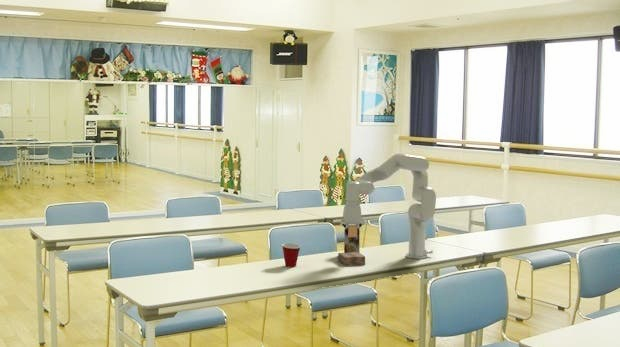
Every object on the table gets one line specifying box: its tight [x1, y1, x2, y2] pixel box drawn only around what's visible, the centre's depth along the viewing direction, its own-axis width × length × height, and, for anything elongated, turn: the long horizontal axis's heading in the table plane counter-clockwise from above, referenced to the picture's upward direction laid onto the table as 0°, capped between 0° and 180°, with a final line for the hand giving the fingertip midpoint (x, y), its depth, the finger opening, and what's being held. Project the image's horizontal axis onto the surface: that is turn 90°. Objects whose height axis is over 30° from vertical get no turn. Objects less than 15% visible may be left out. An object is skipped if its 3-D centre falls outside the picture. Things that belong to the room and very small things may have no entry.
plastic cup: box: [281, 242, 302, 268], centre depth 373 cm, size 11×11×12 cm
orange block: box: [348, 224, 357, 237], centre depth 382 cm, size 5×5×6 cm
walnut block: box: [337, 251, 366, 267], centre depth 383 cm, size 12×12×5 cm
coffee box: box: [343, 227, 361, 253], centre depth 401 cm, size 9×6×16 cm
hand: (351, 234), depth 382 cm, fingers closed on orange block, 4 cm apart
